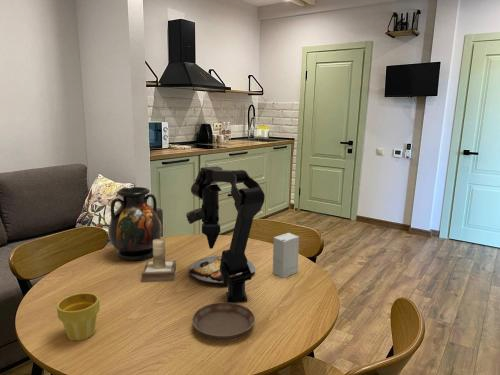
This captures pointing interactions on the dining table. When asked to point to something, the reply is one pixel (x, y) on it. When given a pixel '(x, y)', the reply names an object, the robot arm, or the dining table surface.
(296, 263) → the skincare box
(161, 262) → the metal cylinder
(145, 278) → the plinth
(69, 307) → the plant pot
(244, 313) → the plant saucer
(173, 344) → the dining table surface
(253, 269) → the food plate
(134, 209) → the amphora vase
